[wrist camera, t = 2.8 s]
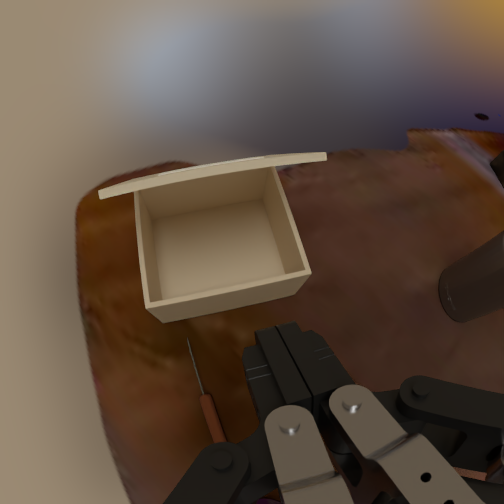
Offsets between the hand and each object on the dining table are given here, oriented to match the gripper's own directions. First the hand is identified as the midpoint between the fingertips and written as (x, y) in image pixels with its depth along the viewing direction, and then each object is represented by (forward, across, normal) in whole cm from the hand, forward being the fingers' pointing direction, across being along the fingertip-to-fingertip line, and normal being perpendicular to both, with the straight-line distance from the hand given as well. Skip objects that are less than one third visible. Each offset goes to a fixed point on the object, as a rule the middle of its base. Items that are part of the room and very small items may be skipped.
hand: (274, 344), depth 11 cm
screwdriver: (+14, +5, +20) cm, 25 cm away
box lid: (+18, 0, -4) cm, 19 cm away
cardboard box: (+26, 0, +7) cm, 27 cm away
